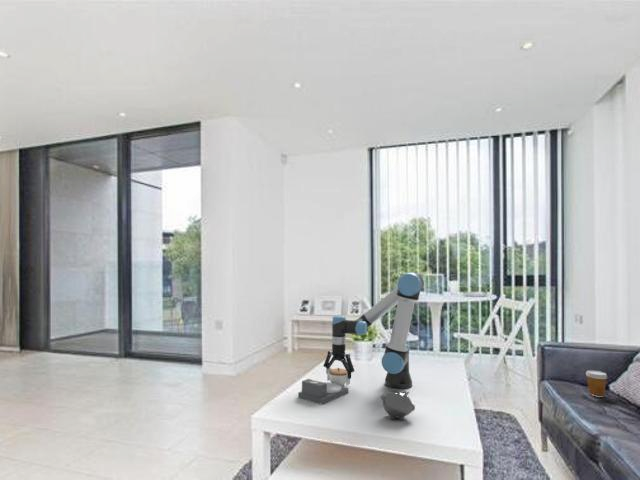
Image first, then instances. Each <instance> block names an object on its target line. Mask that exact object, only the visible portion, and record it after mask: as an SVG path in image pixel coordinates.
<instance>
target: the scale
mask: <svg viewBox="0 0 640 480" xmlns="http://www.w3.org/2000/svg"><path fill="white" fill-rule="evenodd" d="M347 394H349V388H348V387H345V386H340V385H338V384H335V383H331V382H322V381H319V380H314V379H310V378H307V379H305V380H301V391H299V392H298V393H297V395H298V396H297V397H298V398H299V399H301V400H306V401H309V402H313V403H317V404H320V405H325V404H327V403H330V402H332V401H334V400H336V399H339V398H341V397H343V396H345V395H347ZM298 398H297V399H298Z"/></svg>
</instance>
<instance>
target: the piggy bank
mask: <svg viewBox="0 0 640 480" xmlns="http://www.w3.org/2000/svg"><path fill="white" fill-rule="evenodd" d="M380 398H381V401H382V405H383V409H384V411H385V413H386V415H388V416H389V420H390V421H393V420H395V418H399V420H400V421H401V422H404V421H405V417H408V415H410V414H412V412H414V411H415V409H416V405H415V404H413V402H412V400H411V398H410V397H409V391H395V390H393V391H389V392H387V393H386V394H383V395H381V396H380Z"/></svg>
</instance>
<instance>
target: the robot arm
mask: <svg viewBox="0 0 640 480" xmlns="http://www.w3.org/2000/svg"><path fill="white" fill-rule="evenodd" d="M423 287H424V279H423V277H422V275H421V274H420V273H417V272H415V271H409V272H405V273H403V274H401V275H400V277H398V281H397V285H396V287H395V288H394V289H392V290H391V291H390V292H389V293H388V294H386V295H385V296H384V297H383V298H381V300H379V301H378V302H376V304H374V305H373V306H372V307H371V308H370V309H368V310H367V311H365V312H364V314H362V315H361V316H359V317H358V318H357V319H355V320H351V319H350V320H349V319H346V316H345V315H334V316H333V317H332V324H331V326H332V327H331V331H332V333H331V334H332V335H331V340H332V341H331V343H332V344H331V350H328V351H327V355H326V358H325V360H324V363H323V365H322V366H323V367H324V368H326V370H325V371H326V372H325V373H326V375H327V377H326V378H327V379H326V380H327V381H329V382H330V378H329V370H331V369H332V368H331V367H332V366H333V364H334V362H335V361H338V362H341V363H342V364H343V367H344V368H345V370H347V373H346V383H345V385H346V386H348V385H351V379H352V374H353V373H354V372H355V368H354V365H353V363H352V359H351V354H350V353H346V337H347V336H346V334H348V335H357V336H363V335H364V336H365V335H366V334H367V332H368V328H370V327H371V326H373V324H374V323H376V322H377V321H378V320H379V319H381V318H382V317H383V316H385V314H387V313H388V312H390V310H392V309H393V308H395V306H397V307H396V311H395V314H394V320H393V324H392V325H393V326H392V330H391V335H390V338H389V342H387V343H386V346H385V349H384V354H383V355H382V357H381V366H382V368H383V370H384V371H385V372H386V376H385V379H384V385H385V386H387V387H389V388H391V389H392V388H394V389H401V390H402V389H403V390H404V389H409V388H412V386H413V380H412V377H411V373H410V346H409V344H407V341H408V338H409V337H408V336H409V332H410V328H411V327H410V326H411V323H412V317H413V313H414V309H415V308H414V307H415V303H417V302H418V301H419V299H420V294H421V290H422V288H423Z"/></svg>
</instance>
